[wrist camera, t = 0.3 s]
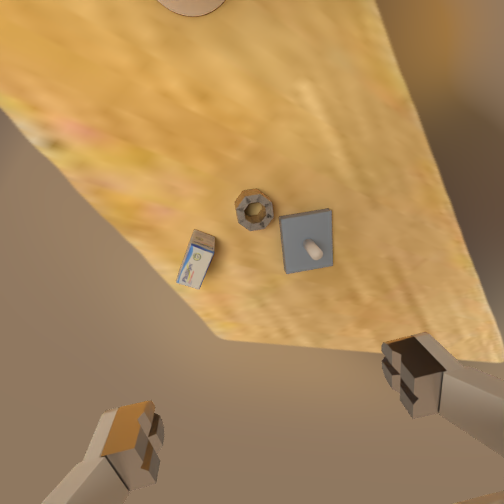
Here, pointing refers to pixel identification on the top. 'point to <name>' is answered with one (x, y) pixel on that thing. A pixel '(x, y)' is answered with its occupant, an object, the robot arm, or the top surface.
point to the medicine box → (196, 260)
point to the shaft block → (306, 240)
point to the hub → (256, 220)
